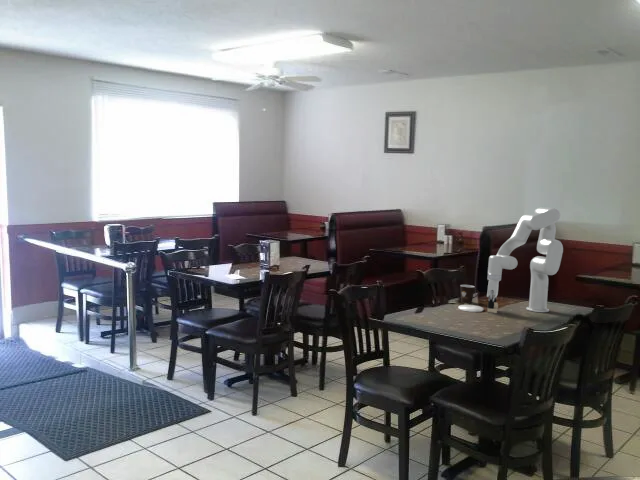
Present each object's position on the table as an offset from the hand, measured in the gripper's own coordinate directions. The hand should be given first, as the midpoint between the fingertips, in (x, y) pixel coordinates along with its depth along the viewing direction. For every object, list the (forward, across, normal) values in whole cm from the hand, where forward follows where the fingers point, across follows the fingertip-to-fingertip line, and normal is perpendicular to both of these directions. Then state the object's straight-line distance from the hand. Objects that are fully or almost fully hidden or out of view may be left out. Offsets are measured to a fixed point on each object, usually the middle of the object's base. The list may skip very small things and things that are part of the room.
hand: (491, 307), depth 330 cm
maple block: (+3, 0, 0) cm, 3 cm away
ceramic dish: (+3, +1, -12) cm, 12 cm away
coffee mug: (+3, -19, -16) cm, 26 cm away
